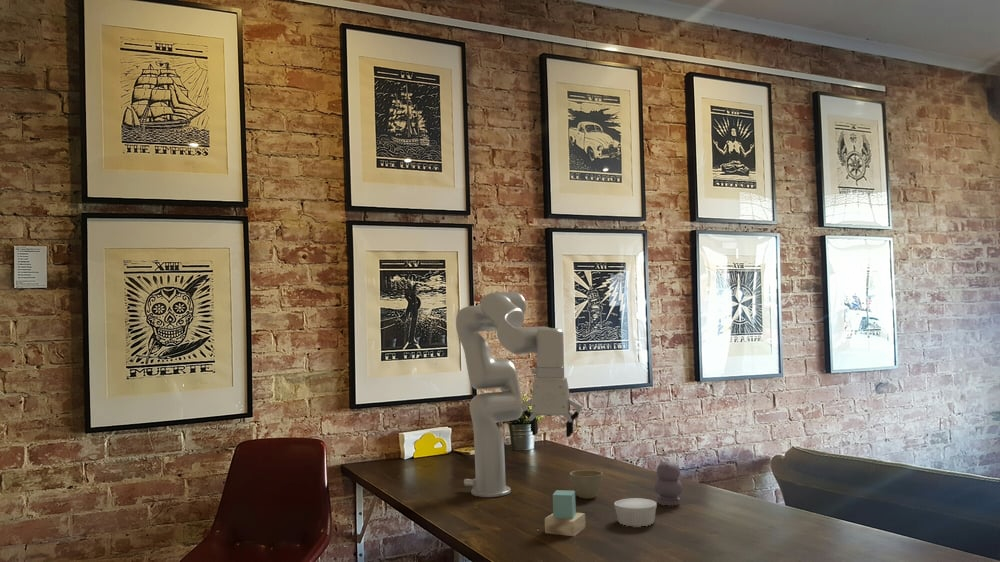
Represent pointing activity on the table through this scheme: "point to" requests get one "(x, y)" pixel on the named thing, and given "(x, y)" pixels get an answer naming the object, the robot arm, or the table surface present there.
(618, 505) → the ramekin
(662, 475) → the cat figurine
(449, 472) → the table surface
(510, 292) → the robot arm
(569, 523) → the base
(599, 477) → the flower pot
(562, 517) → the block
